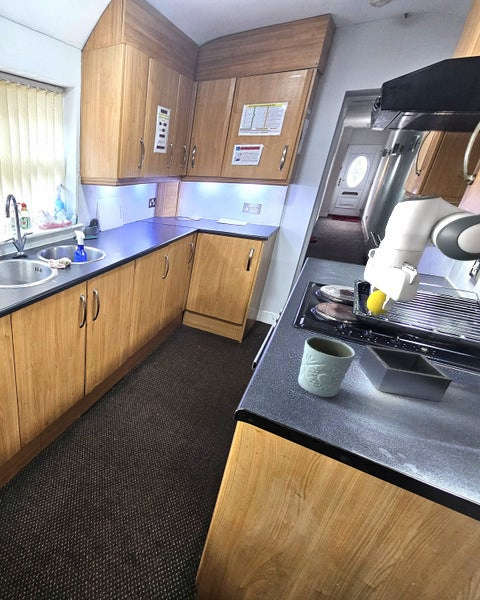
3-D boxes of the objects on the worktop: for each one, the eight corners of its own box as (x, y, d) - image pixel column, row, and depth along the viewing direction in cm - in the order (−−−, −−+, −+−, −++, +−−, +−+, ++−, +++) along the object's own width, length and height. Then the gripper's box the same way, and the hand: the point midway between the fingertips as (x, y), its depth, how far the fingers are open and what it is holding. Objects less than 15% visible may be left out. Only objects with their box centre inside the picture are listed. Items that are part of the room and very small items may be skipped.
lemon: (388, 314, 95) (398, 289, 92) (387, 321, 91) (397, 294, 88) (364, 309, 98) (373, 284, 95) (362, 315, 95) (371, 289, 91)
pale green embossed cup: (320, 402, 79) (335, 361, 74) (284, 378, 88) (296, 339, 83) (350, 393, 82) (366, 353, 77) (312, 370, 91) (324, 333, 86)
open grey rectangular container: (411, 373, 91) (421, 353, 89) (440, 402, 80) (452, 379, 78) (357, 364, 95) (365, 344, 92) (377, 390, 84) (387, 368, 81)
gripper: (436, 269, 78) (413, 321, 83) (393, 251, 96) (376, 294, 101) (403, 267, 80) (383, 317, 85) (367, 249, 98) (352, 292, 103)
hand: (379, 305), depth 93 cm, fingers closed on lemon, 5 cm apart
